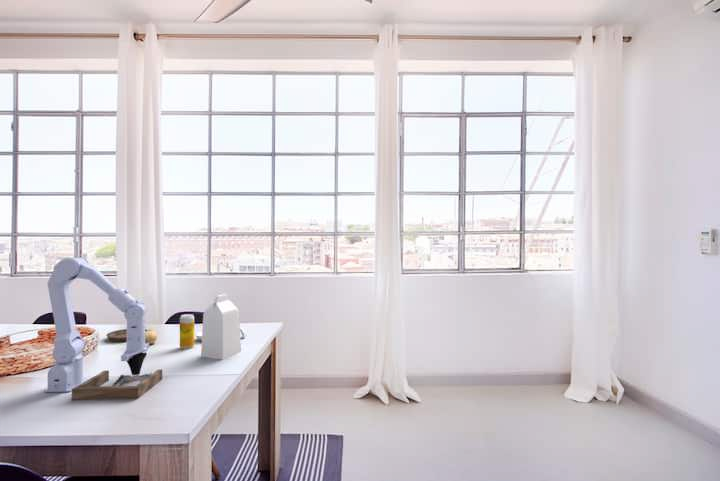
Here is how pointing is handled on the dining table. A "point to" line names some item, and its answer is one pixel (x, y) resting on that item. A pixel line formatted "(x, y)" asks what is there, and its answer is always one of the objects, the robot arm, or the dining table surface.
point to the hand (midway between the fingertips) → (135, 374)
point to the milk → (221, 329)
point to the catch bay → (113, 388)
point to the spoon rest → (199, 335)
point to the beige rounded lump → (150, 336)
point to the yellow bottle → (186, 331)
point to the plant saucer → (118, 335)
